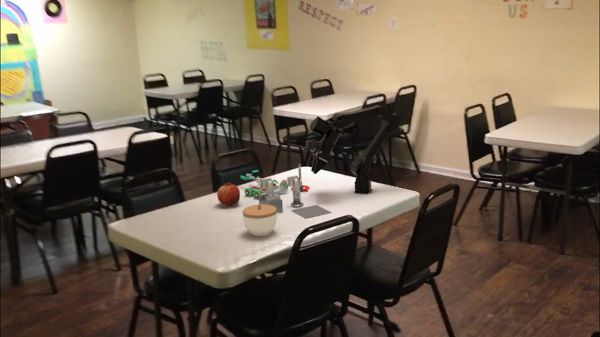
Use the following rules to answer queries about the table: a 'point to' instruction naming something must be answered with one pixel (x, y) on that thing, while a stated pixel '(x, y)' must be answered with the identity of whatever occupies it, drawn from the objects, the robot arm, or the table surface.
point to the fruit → (228, 194)
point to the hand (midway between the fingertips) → (313, 172)
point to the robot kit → (257, 189)
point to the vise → (270, 195)
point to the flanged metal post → (295, 190)
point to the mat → (311, 211)
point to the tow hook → (301, 182)
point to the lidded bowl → (260, 219)
